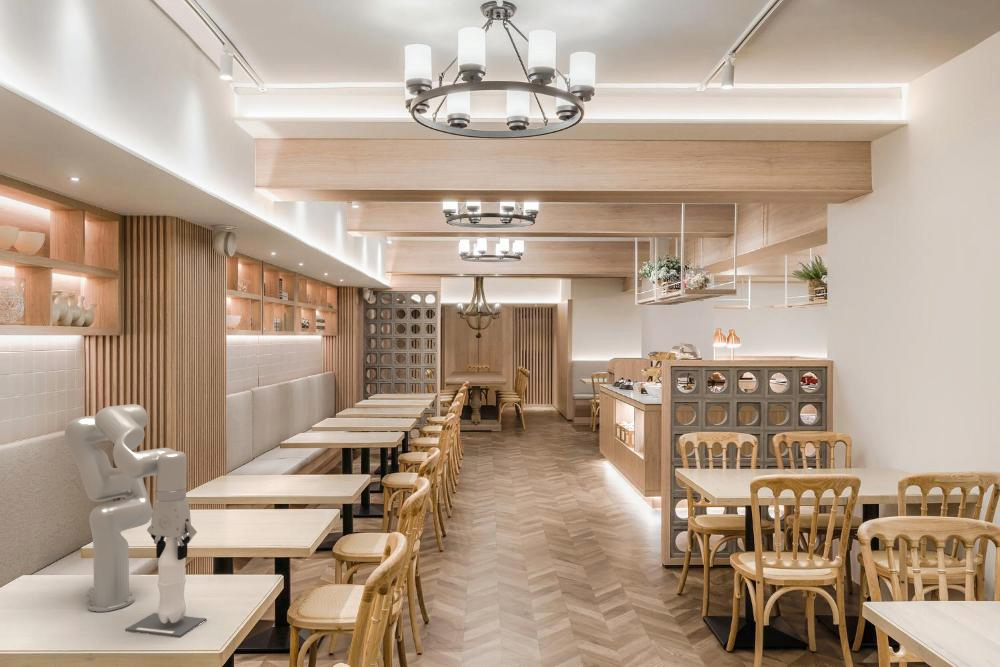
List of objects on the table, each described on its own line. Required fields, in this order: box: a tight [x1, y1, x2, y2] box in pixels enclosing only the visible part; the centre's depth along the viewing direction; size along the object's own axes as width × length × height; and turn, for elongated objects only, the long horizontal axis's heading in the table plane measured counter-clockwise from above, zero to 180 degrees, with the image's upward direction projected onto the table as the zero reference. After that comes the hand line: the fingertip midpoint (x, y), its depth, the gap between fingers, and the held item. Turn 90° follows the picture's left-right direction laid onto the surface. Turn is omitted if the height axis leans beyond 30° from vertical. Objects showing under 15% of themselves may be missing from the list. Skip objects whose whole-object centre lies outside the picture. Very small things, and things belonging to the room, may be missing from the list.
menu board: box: [124, 612, 207, 638], centre depth 189 cm, size 18×11×1 cm, turn 77°
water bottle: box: [157, 537, 187, 623], centre depth 189 cm, size 7×7×25 cm
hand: (171, 556), depth 189 cm, fingers closed on water bottle, 6 cm apart
